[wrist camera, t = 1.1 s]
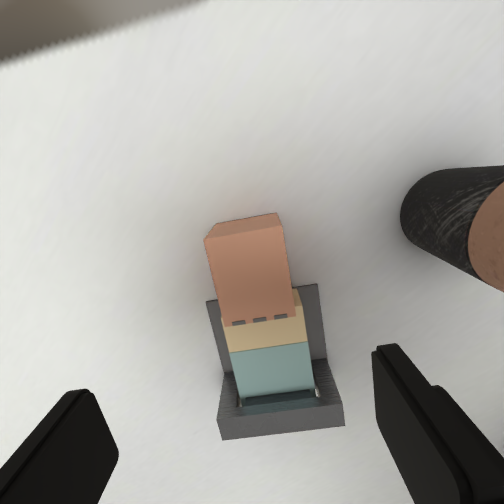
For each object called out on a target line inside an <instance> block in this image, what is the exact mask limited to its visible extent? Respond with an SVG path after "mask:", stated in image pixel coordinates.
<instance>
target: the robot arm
mask: <svg viewBox="0 0 504 504" xmlns="http://www.w3.org/2000/svg"><path fill="white" fill-rule="evenodd" d="M371 356H372V370H373V384H374V398H375V411H376V420H377V423H378V427H379V429H380V431H381V433H382V436H383V438H384V440H385V442H386V444H387V446H388V448H389V450H390V452H391V455H392V457H393V459H394V461H395V463H396V465H397V467H398V469H399V471H400V474H401V476H402V478H403V480H404V482H405V484H406V486H407V488H408V490H409V493H410V495H411V497H412V499H413V501H414V503H415V504H504V458H503V457H502V455H501V454H500V453H499V452H498V451H497V450H496V448H495V447H494V446H493V445H492V444H491V443H490V441H489V440H488V439H487V438H486V437H485V436H484V434H483V433H482V432H481V431H480V430H479V429H478V427H477V426H476V425H475V424H474V423H473V422H472V420H471V419H470V418H469V417H468V416H467V415H466V413H465V412H464V411H463V410H462V409H461V408H460V407H459V405H458V404H457V403H456V402H455V401H454V400H453V398H452V397H451V396H450V395H449V394H448V393H447V391H446V390H444V389H443V388H442V387H441V386H439V385H435V386H431V385H430V384H429V382H428V381H427V380H426V379H425V377H424V376H423V375H422V374H421V372H420V371H419V370H418V369H417V367H416V366H415V365H414V364H413V363H412V361H411V360H410V359H409V358H408V356H407V355H406V354H405V353H404V351H403V350H402V349H401V348H400V346H399V345H398V344H396V343H393V344H387V345H380V346H377V348H376V351H373V352H372V353H371ZM118 457H119V451H118V448H117V446H116V443H115V441H114V439H113V436H112V434H111V432H110V430H109V427H108V425H107V423H106V421H105V418H104V416H103V414H102V411H101V409H100V407H99V405H98V402H97V400H96V398H95V395H94V394H93V393H91V392H90V391H89V390H88V389H79V390H72V391H68V392H66V393H65V394H64V395H63V396H62V397H61V399H60V400H59V401H58V402H57V403H56V404H55V406H54V407H53V408H52V409H51V410H50V411H49V413H48V414H47V415H46V416H45V417H44V418H43V420H42V421H41V422H40V423H39V424H38V425H37V427H36V428H35V429H34V430H33V431H32V432H31V434H30V435H29V436H28V437H27V438H26V439H25V441H24V442H23V443H22V444H21V445H20V446H19V448H18V449H17V450H16V451H15V452H14V453H13V455H12V456H11V457H10V458H9V459H8V460H7V462H6V463H5V464H4V465H3V466H2V468H1V469H0V504H98V502H99V500H100V498H101V495H102V493H103V491H104V489H105V487H106V485H107V483H108V481H109V479H110V477H111V474H112V472H113V470H114V468H115V466H116V464H117V461H118Z"/></svg>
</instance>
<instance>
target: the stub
mask: <svg viewBox="0 0 504 504" xmlns="http://www.w3.org/2000/svg"><path fill="white" fill-rule="evenodd" d="M203 240H204V244H205V249H206V253H207V257H208V261H209V265H210V269H211V273H212V277H213V281H214V285H215V290H216V294H217V298H218V302H219V306H220V310H221V314H222V318H223V322H224V326H225V327H230V326H237V325H243V324H249V323H257V322H263V321H269V320H276V319H283V318H289V317H295V316H296V311H295V305H294V298H293V292H292V286H291V280H290V273H289V267H288V261H287V254H286V248H285V242H284V235H283V229H282V225H281V222H280V220H279V217H278V215H277V213H272V214H267V215H261V216H256V217H250V218H245V219H239V220H234V221H228V222H223V223H217V224H216V225H215V226H214V227H213V228H212V230H211V231H210V232H209V233H208V235H207V236H206V237H205V238H204V239H203Z"/></svg>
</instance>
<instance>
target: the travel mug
mask: <svg viewBox="0 0 504 504" xmlns="http://www.w3.org/2000/svg"><path fill="white" fill-rule="evenodd" d="M400 219H401V226H402V229H403V231H404V233H405V235H406V236H407V238H408V239H409V240H410V241H411V242H412V243H414V244H415V245H417V246H418V247H420V248H422V249H423V250H425V251H427V252H429V253H431V254H433V255H434V256H436V257H438V258H440V259H442V260H444V261H446V262H448V263H449V264H451V265H453V266H455V267H457V268H459V269H461V270H462V271H464V272H466V273H468V274H470V275H472V276H474V277H475V278H477V279H479V280H481V281H483V282H485V283H487V284H488V285H490V286H492V287H494V288H496V289H498V290H500V291H502V292H504V165H503V166H487V167H471V168H455V169H445V170H440V171H437V172H434V173H431V174H429V175H427V176H425V177H424V178H422V179H421V180H420V181H418V182H417V183H416V184H415V185H414V186H413V187H412V188H411V189H410V191H409V192H408V194H407V195H406V197H405V199H404V201H403V204H402V208H401V214H400Z"/></svg>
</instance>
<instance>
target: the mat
mask: <svg viewBox="0 0 504 504" xmlns="http://www.w3.org/2000/svg"><path fill="white" fill-rule="evenodd" d="M296 288H297V291H298V294H299V297H300V300H301V303H302V307H303V313H304V320H305V327H306V333H307V340H308V346H309V353H310V359H311V360H315V359H322V358H326V359H327V353H326V346H325V338H324V330H323V322H322V315H321V307H320V299H319V292H318V285H317V284H312V285H306V286H300V287H294V288H292V289H296ZM206 306H207V309H208V313H209V317H210V321H211V325H212V329H213V333H214V336H215V340H216V344H217V348H218V352H219V356H220V360H221V364H222V367H223V371H224V373H225V372H229V371H233V367H232V363H231V359H230V355H229V350H228V345H227V341H226V337H225V333H224V329H223V325H222V321H221V316H222V314H221V310H220V306H219V302H218V300H213V301H207V302H206ZM327 362H328V361H327ZM311 366H312V365H311ZM312 373H313V372H312ZM314 386H315V383H314ZM315 389H316V386H315Z"/></svg>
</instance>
